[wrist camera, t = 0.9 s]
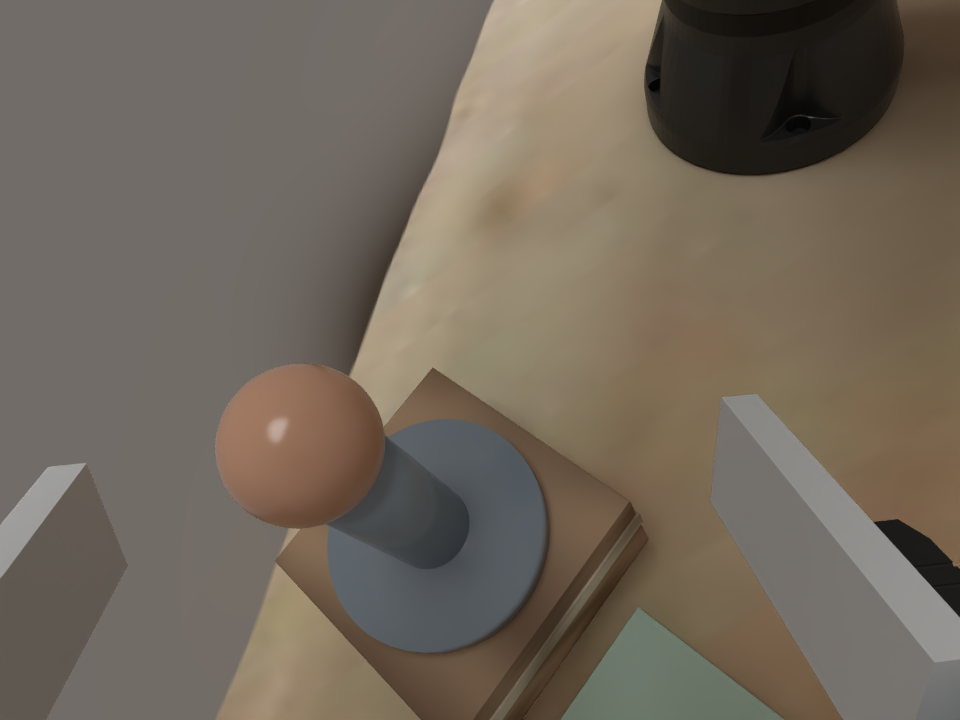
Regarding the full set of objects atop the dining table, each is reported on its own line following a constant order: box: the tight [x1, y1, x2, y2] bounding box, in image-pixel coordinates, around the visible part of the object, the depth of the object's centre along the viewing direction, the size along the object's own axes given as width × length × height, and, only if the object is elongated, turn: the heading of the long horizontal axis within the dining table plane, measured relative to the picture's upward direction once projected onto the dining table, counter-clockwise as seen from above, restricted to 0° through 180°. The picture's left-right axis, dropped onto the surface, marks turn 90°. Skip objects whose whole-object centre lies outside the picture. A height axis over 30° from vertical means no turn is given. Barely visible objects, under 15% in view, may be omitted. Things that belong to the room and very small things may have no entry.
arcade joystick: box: [215, 363, 550, 654], centre depth 25 cm, size 10×10×14 cm
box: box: [275, 368, 648, 720], centre depth 33 cm, size 12×12×7 cm
